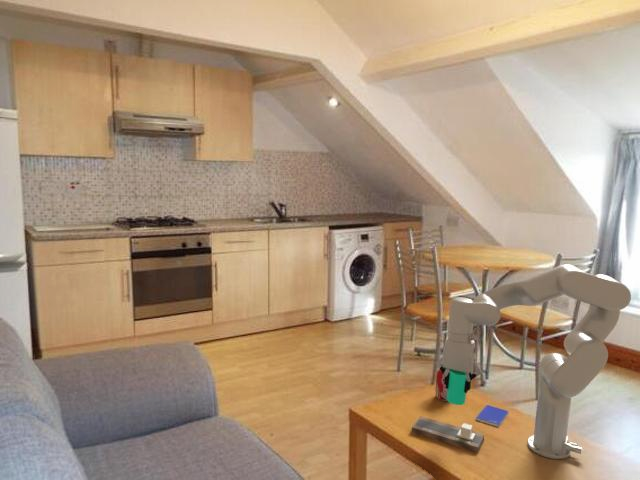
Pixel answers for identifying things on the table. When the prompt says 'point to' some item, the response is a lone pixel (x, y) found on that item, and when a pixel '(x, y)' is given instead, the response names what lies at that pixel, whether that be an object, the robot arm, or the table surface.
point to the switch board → (446, 434)
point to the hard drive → (492, 415)
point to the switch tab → (466, 432)
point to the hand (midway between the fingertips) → (457, 388)
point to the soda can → (441, 386)
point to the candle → (456, 388)
